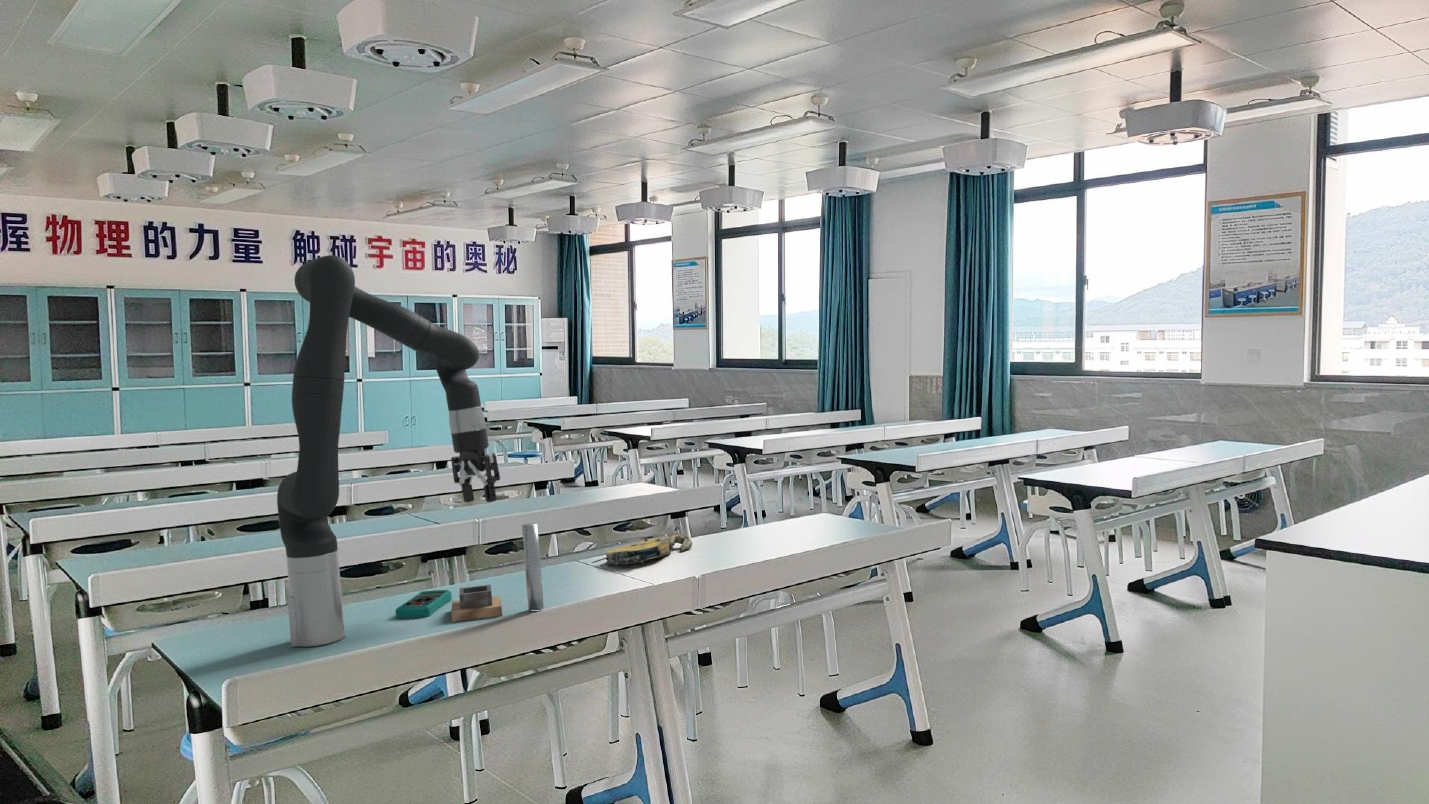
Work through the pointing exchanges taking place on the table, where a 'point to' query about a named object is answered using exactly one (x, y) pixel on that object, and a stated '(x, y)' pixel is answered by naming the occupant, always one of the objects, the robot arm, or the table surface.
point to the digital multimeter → (423, 604)
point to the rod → (532, 566)
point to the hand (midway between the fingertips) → (480, 501)
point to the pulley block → (646, 549)
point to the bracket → (476, 604)
